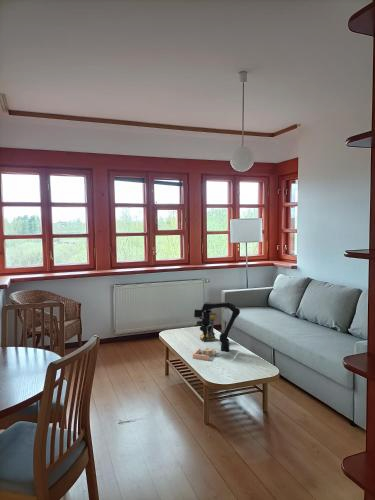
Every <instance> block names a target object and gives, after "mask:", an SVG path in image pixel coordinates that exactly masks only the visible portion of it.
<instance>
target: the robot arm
mask: <svg viewBox="0 0 375 500" xmlns="http://www.w3.org/2000/svg"><path fill="white" fill-rule="evenodd" d="M221 308H228V309H229V310H230V311H231V315H230V318H229V321H227V324H226V327H225V329H224V330H223V331H221V332H220V334H219V337H218V338H219V342H220V343H221V345H220V351H221V352H223V353H224V352H226V353H227V352H230V350H231V349H230V348H231V347H230V344H231V343H230V339H229V338H228V337H229V336H228V335H229V333H230V331H231V329H232V326H233V324H234V322H235V320H236V319H237V318H238V316H239V315H240V313H241V309H240V307H239V306H237V305H234V304H233V303H232V302H230V301H223V302H210V301H209V302H208V301H206V302H205V301H204V302H203V305H202V307H201V309H198V308H197V309H196V308H195V309H194V314H193V317H194V318H195V319H196V318H198V319H199V318H201V317H202V316H203V319H199V320H197V321H196V325H197V327H199V326H200V327H199V331H201V332H202V334H204V337H206V335H207V332H208V334H210V332H211V329H212V327H213V328H214V321H210V320H211V318H210V313H213V311H212V309H221Z"/></svg>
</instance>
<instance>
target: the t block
mask: <svg viewBox="0 0 375 500" xmlns="http://www.w3.org/2000/svg"><path fill="white" fill-rule="evenodd" d="M202 351H203V355H206V356H208V355H209V356H215V355H216V353H217V350H216V349H213V348H211V347H205V348H204V349H203V350H202Z"/></svg>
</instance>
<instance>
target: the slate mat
mask: <svg viewBox="0 0 375 500" xmlns="http://www.w3.org/2000/svg"><path fill="white" fill-rule="evenodd" d="M219 354H220V352H216V355H215V356H209V355H208V356H209V360H206V362H207V361H208V362H213V361H214V360H215V358H216V357H218V355H219ZM199 355H203V350H201V349H200V353H199ZM194 359H195V360H197V359H196V358H193V360H194ZM199 360H200V361H201V360H202V359H199Z"/></svg>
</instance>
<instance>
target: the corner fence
mask: <svg viewBox="0 0 375 500" xmlns="http://www.w3.org/2000/svg"><path fill="white" fill-rule="evenodd" d="M200 350H201V347H199V348H198V349H197V350H195V351H194V352H193V353H192V359H194V358H196V359H195V360H200V359H202V360H203V361H207V360H209V356H206V355H199V353H200Z"/></svg>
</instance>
